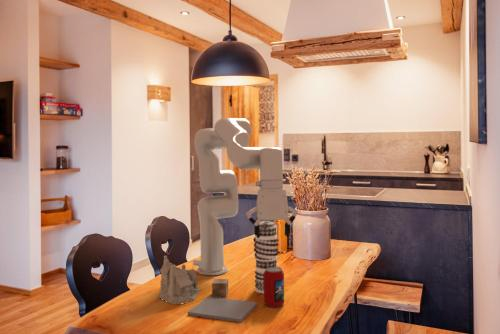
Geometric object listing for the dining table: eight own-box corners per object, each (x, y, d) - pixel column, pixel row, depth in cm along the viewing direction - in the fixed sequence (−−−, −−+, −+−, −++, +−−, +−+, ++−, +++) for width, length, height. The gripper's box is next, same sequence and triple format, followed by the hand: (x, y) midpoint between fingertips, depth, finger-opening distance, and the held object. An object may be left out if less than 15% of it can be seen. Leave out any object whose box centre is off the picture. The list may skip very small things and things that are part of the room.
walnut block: (212, 297, 157) (211, 283, 156) (214, 292, 162) (214, 278, 161) (226, 297, 156) (226, 283, 156) (228, 292, 161) (228, 279, 161)
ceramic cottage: (170, 306, 147) (171, 261, 148) (152, 294, 161) (153, 253, 161) (211, 300, 156) (212, 257, 156) (191, 289, 170) (192, 249, 170)
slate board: (187, 315, 140) (187, 311, 140) (208, 299, 154) (208, 296, 154) (240, 322, 134) (240, 319, 134) (257, 305, 148) (257, 302, 148)
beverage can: (282, 308, 145) (282, 272, 144) (262, 307, 146) (261, 271, 145) (285, 301, 151) (285, 266, 151) (265, 300, 153) (265, 265, 152)
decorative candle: (261, 295, 157) (260, 225, 156) (249, 288, 165) (248, 221, 164) (283, 291, 161) (283, 223, 160) (271, 284, 169) (270, 219, 168)
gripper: (246, 186, 142) (247, 240, 143) (299, 185, 144) (300, 237, 145) (244, 184, 149) (245, 235, 150) (294, 183, 151) (295, 233, 152)
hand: (272, 236), depth 147 cm, fingers open, 9 cm apart
